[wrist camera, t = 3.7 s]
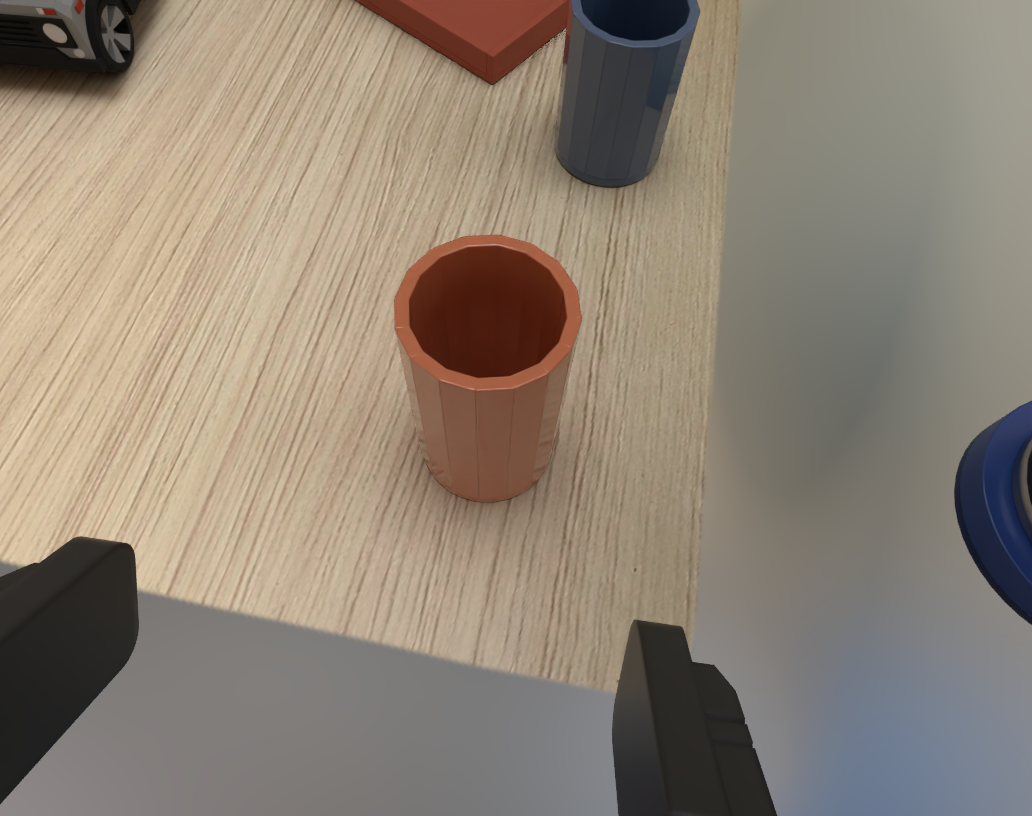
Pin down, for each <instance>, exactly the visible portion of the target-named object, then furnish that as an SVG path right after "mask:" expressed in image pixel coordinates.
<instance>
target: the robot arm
mask: <svg viewBox="0 0 1032 816" xmlns="http://www.w3.org/2000/svg"><path fill="white" fill-rule="evenodd" d="M1012 489H1013V497H1014V502H1015V506H1016V510H1017V513H1018V516H1019V518H1020V521H1021V523H1022V525H1023V528H1024V530H1025V532H1026V534H1027V535H1028V537H1029V539H1030V541H1031V542H1032V435H1031V436H1029V437H1028V439H1027V440H1026V441H1025V442H1024V444H1023V445H1022V447H1021V448H1020V450H1019V452H1018V454H1017V457H1016V460H1015V463H1014V467H1013V473H1012ZM138 628H139V619H138V601H137V582H136V563H135V554H134V550H133V548H132V547H131V546H130V545H129V544H128V543H122V542H115V541H108V540H102V539H95V538H88V537H76V538H73V539H72V540H70V541H69V542H67V543H66V544H65V545H63V546H62V547H60V548H59V549H58V550H56V551H55V552H54V553H52V554H51V555H50V556H48V557H47V558H46V559H44V560H43V561H41V562H40V563H33V564H30V565H28V566H25V567H23V568H21V569H18V570H16V571H14V572H11V573H9V574H6V575H4V576H2V577H0V804H1V803H2V802H3V800H4V799H5V798H6V797H7V796H8V795H9V794H10V793H11V792H12V791H13V789H14V788H15V787H16V786H17V785H18V784H19V783H20V782H21V781H22V779H23V778H24V777H25V776H26V775H27V774H28V773H29V771H31V769H32V768H33V767H34V766H35V765H36V764H37V763H38V762H39V761H40V759H41V758H42V757H43V756H44V755H45V754H46V752H48V750H49V749H50V748H51V747H52V746H53V745H54V744H55V743H56V742H57V740H58V739H59V738H60V737H61V736H62V735H63V734H64V733H65V732H66V730H67V729H68V728H69V727H70V726H71V725H72V724H73V723H74V722H75V720H76V719H77V718H78V717H79V716H80V715H81V714H82V713H83V712H84V710H85V709H86V708H87V707H88V706H89V705H90V704H91V703H92V701H93V700H94V699H95V698H96V697H97V696H98V695H99V693H101V691H102V690H103V689H104V688H105V687H106V686H107V685H108V684H109V683H110V681H111V680H112V679H113V678H114V677H115V676H116V675H117V674H118V673H119V671H120V670H121V669H122V668H123V667H124V666H125V664H126V663H127V661H128V660H129V658H130V656H131V654H132V652H133V649H134V647H135V644H136V640H137V636H138V630H139V629H138ZM612 743H613V755H614V767H615V779H616V790H617V802H618V814H619V816H777V814H776V811H775V808H774V805H773V802H772V799H771V796H770V793H769V790H768V787H767V784H766V781H765V778H764V775H763V772H762V769H761V765H760V763H759V760H758V756H757V754H756V750H755V748H753V746H752V744H753V742H752V738H751V735H750V733H749V730H748V726H747V724H745V717H744V714H743V712H742V708H741V705H740V702H739V700H738V696H737V693H736V691H735V690H734V688H733V687H732V686H731V685H730V684H729V682H728V681H727V680H726V679H725V678H724V676H723V675H722V674H721V673H720V672H719V670H718V669H717V668H716V667H715V666H714V665H710V664H703V663H696V662H692V659H691V656H690V652H689V648H688V644H687V640H686V637H685V633H684V630H683V628H682V627H681V626H674V625H668V624H661V623H654V622H647V621H641V620H634V621H633V623H632V625H631V628H630V632H629V637H628V641H627V646H626V651H625V656H624V660H623V665H622V670H621V675H620V679H619V684H618V689H617V693H616V699H615V704H614V712H613V726H612Z"/></svg>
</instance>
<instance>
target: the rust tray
mask: <svg viewBox="0 0 1032 816" xmlns="http://www.w3.org/2000/svg"><path fill="white" fill-rule="evenodd" d="M356 1H358V2H359V3H361V4H363V5H364V6H366V7H367V8H369V9H371V10H372V11H374V12H376V13H377V14H379V15H380V16H382V17H384V18H385V19H387V20H388V21H390V22H392V23H393V24H395V25H397V26H398V27H400V28H401V29H403V30H405V31H406V32H408V33H410V34H411V35H413V36H414V37H416V38H418V39H419V40H421V41H422V42H424V43H426V44H427V45H429V46H431V47H432V48H434V49H435V50H437V51H439V52H440V53H442V54H444V55H445V56H447V57H448V58H450V59H452V60H453V61H455V62H457V63H458V64H460V65H461V66H463V67H465V68H466V69H468V70H469V71H471V72H473V73H474V74H476V75H478V76H479V77H481V78H482V79H484V80H486V81H487V82H489V83H491V84H492V85H493V84H495V83H496V82H497V81H498V80H500V79H501V78H502V77H503V76H505V75H506V74H507V73H508V72H510V71H511V70H512V69H513V68H515V67H516V66H517V65H519V64H520V63H521V62H522V61H524V60H525V59H526V58H527V57H529V56H530V55H531V54H532V53H534V52H535V51H536V50H538V49H539V48H540V47H541V46H543V45H544V44H545V43H546V42H548V41H549V40H550V39H551V38H553V37H554V36H555V35H557V34H558V33H559V32H560V31H562V30H563V29H564V28H565V27H567V21H568V12H569V3H570V0H356Z"/></svg>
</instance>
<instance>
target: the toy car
mask: <svg viewBox="0 0 1032 816" xmlns="http://www.w3.org/2000/svg"><path fill="white" fill-rule="evenodd" d="M140 2H141V0H0V65H10V66H22V67H34V68H46V69H58V70H70V71H82V72H94V73H104V72H105V71H108V72H123V71H125V70H126V69H127V68H128V67H129V65H130V63H131V61H132V58H133V52H134V39H133V32H132V27H131V24H130V20H129V18H128V16H127V13H128V15H134V14H135V12H136V10H137V8H138V6H139V4H140ZM126 12H127V13H126Z"/></svg>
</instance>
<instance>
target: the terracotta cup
mask: <svg viewBox="0 0 1032 816" xmlns="http://www.w3.org/2000/svg"><path fill="white" fill-rule="evenodd" d="M581 319H582V316H581V310H580V303H579V297H578V291H577V289H576V286H575V285H574V283H573V282H572V280H571V279H570V277H569V276H568V274H567V273H566V271H565V270H564V268H563V267H562V266H561V264H560V263H559V262H558V261H557V260H555V259H554V258H552V257H551V256H549V255H548V254H546V253H545V252H544V251H542V250H541V249H539V248H538V247H536V246H535V245H533V244H532V245H531V243H528V242H524V241H520V240H517V239H513V238H509V237H506V236H502V235H499V236H498V235H480V236H465V237H461V238H458V239H456V240H453V241H450V242H448V243H445V244H443V245H440V246H437V247H435V248H433V249H431V250H430V251H429V252H427V253H426V254H425V255H424V256H423V257H422V258H421V259H419V260H418V261H417V262H416V263H415V264H414V265H413V266H411V267H410V268H409V269H408V271H407V272H406V275H405V277H404V279H403V281H402V283H401V285H400V287H399V289H398V291H397V294H396V296H395V299H394V323H395V333H396V337H397V342H398V346H399V351H400V356H401V360H402V365H403V370H404V374H405V379H406V383H407V388H408V393H409V397H410V402H411V407H412V411H413V416H414V421H415V425H416V430H417V434H418V439H419V444H420V448H421V452H422V454H423V456H424V460H425V462H426V465H427V467H428V469H429V470H430V472H431V474H432V475H433V476H434V478H435V479H436V480H437V481H438V482H439V483H440V484H441V485H442V486H443V487H444V488H446V489H447V490H449V491H450V492H452V493H454V494H455V495H457V496H460V497H462V498H465V499H469V500H473V501H479V502H495V501H502V500H505V499H509V498H512V497H514V496H517V495H519V494H521V493H522V492H524V491H526V490H527V489H528V488H530V487H531V486H532V485H533V484H534V483H535V482H536V481H537V480H538V479H539V478H540V477H541V475H542V474H543V473H544V471H545V469H546V467H547V466H548V463H549V460H550V458H551V453H552V450H553V447H554V443H555V439H556V435H557V430H558V426H559V421H560V416H561V412H562V407H563V403H564V398H565V394H566V389H567V385H568V380H569V376H570V371H571V366H572V362H573V357H574V353H575V348H576V344H577V339H578V335H579V330H580V326H581Z"/></svg>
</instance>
